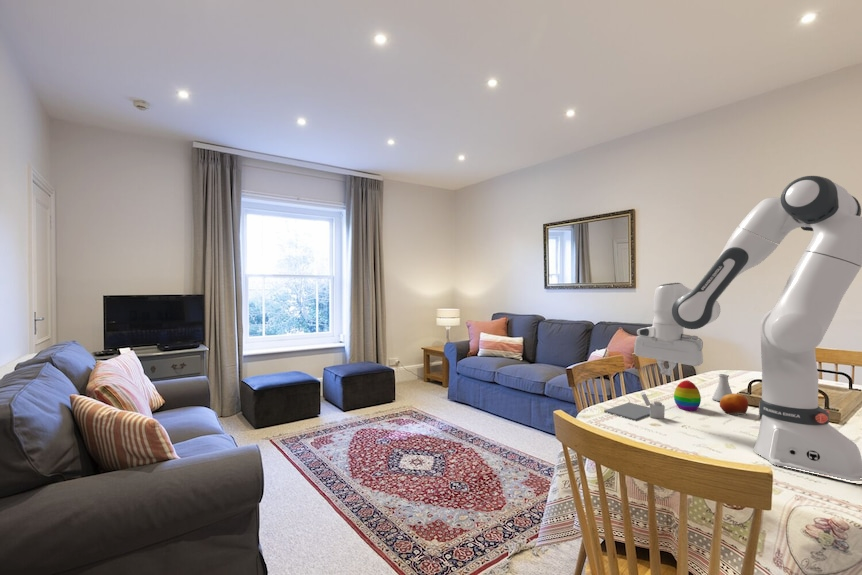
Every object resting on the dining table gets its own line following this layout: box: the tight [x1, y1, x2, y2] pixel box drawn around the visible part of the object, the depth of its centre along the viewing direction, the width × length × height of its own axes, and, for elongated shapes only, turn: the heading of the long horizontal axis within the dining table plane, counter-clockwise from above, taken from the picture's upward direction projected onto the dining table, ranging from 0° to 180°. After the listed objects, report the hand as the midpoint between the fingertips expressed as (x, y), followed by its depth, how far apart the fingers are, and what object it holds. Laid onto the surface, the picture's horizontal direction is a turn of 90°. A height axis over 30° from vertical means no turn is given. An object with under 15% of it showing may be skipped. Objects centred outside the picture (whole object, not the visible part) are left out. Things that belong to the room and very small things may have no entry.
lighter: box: [640, 391, 666, 420], centre depth 138 cm, size 7×2×8 cm, turn 72°
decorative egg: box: [673, 380, 702, 411], centre depth 148 cm, size 8×8×10 cm
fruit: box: [719, 393, 749, 417], centre depth 142 cm, size 8×8×8 cm
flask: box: [711, 373, 733, 402], centre depth 157 cm, size 7×7×10 cm
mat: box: [604, 402, 650, 421], centre depth 144 cm, size 11×16×1 cm
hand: (666, 374), depth 135 cm, fingers closed
